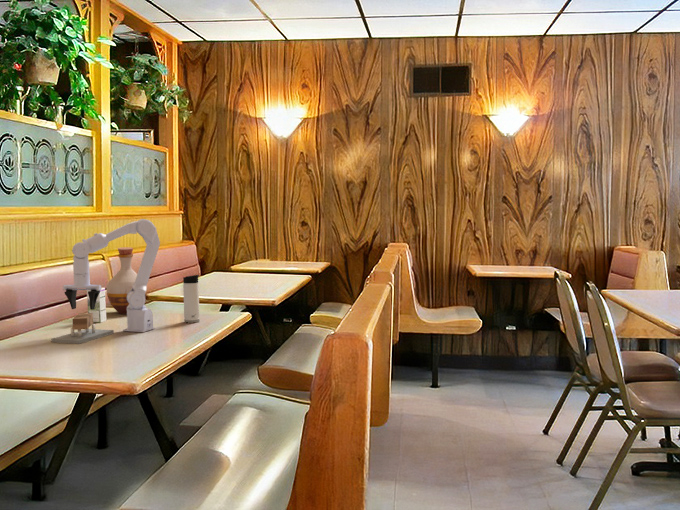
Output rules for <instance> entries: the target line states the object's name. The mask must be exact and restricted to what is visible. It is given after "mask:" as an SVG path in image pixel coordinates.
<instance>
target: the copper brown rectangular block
mask: <svg viewBox="0 0 680 510" xmlns="http://www.w3.org/2000/svg"><path fill="white" fill-rule="evenodd" d="M92 325H94V323H93V313H88V312H87V313H86V312H84V313H78V314H76V315H75V316H74V317H73V318H72V328H73V330H74V331H78V330H79V329H81V330H85V329H88V328H89V329H90V327H92Z"/></svg>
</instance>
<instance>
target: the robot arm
mask: <svg viewBox="0 0 680 510" xmlns="http://www.w3.org/2000/svg"><path fill="white" fill-rule="evenodd" d="M128 234H130V235H133V234H134V235H137V234H139V236H140V237H141V238H143V240H144V242H145V244H146V246H145V248H144V252H143V254H142V258H141V261H140V264H139V268H138V270H137V277H136V280H135V283H134V284H133V286H132V289H131V291H130V292H129V293H128V294H127V301H128V303H129V305H128V306H127V314H126V321H127V322H126V323H127V324H126V326H127V328H125V329H122V331H123V332H134V333H135V332H136V333H145V332H148V331H150V330H154V329H155V327H154V316H153V315H154V313H153V310H152V309H151V308H147V306H146V305H145V303H146V298H145V293H146V286H147V287H148V283H149V280H150V276H151V273H152V270H153V267H154V264H155V261H156V257H157V255H158V251H159V248H160V244H161V241H160V237H159V235H158V232H157V227H156V225H154V223H153V222H152V221H151V220H149V219H144V218H141V219H139V220H134V221H132V222H129V223H126V224H124V225H122V226H120V227H117V228H116V229H114V230H112V231H110V232H107V233H106V234H105V233H102V232H99V233H97V232H95V233H93V235H92V236H91V237H88V238H86V239H85V238H83V239H82V240H81V241H82V242H80V241H79V242H76V243H75V244H74V245H73V246H72V250H71V251H72V254H73V257H72V259H73V262H72V269H73V271H72V272H73V284H64V285H62V287H63V288H62V289H63V291H64V295H65V297H66V298H67V299H68V302H69V304H70V307H71V308H70V309H71V310H75V309H77V292H78V291H87V290H91V291H88V295H89V299H90V309H95V304H96V300H97V297H98V295H99V293H100V290H101V288H102V284H91V277H90V276H91V275H90V272H91V271H90V261H89V254H93V253H96V252H97V251H101V250H102V249H105V248H107V247H108V245H109V243H110V242H112V241H114V240H116V239H119V238H121V237H123V236H125V235H128Z"/></svg>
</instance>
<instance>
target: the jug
mask: <svg viewBox="0 0 680 510" xmlns="http://www.w3.org/2000/svg"><path fill="white" fill-rule="evenodd" d="M133 250H134V248H133V247H132V246H131V247H130V246H129V247H125V246H124V247H117V251H118V255H117V257H118V258H119V262H120V269H119V270H118V271H117V273H115V274H114V275H113V277H112V278H111V279H110V280H109V281H108V282H107V285H106V288H105V291H106V295H107V298H108V299H107V300H108V302H109V303H110V305H111V306H112V308H113V310H115V312H117V313H118V314H119V315H127V306H128V305H129V303H128V301H127V294H128V293H129V292H130V291H131V289H132V286H133V284H134V283H135V280H136V277H137V274H138V272H136V271H135V270H134V269H133V268H132V259H133V257H134V253H133V252H134V251H133ZM147 293H148V285H147V286H146V293H145V299H146V297H147Z"/></svg>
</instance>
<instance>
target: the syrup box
mask: <svg viewBox="0 0 680 510" xmlns="http://www.w3.org/2000/svg"><path fill="white" fill-rule="evenodd" d="M88 291H91V290H86V297H87V301H86V302H87V313H93V324H94V323H103V322H106V321H107V309H106V308H107V304H106V288H105V287H101V290H100V293H99V295H98V297H97V300H96V304H95V309H90V299H89V295H88Z"/></svg>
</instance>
